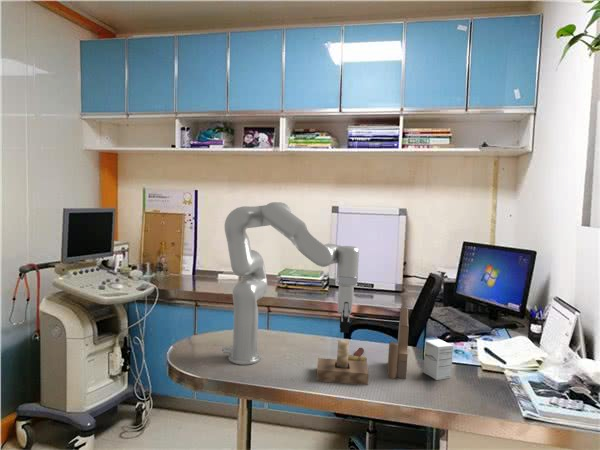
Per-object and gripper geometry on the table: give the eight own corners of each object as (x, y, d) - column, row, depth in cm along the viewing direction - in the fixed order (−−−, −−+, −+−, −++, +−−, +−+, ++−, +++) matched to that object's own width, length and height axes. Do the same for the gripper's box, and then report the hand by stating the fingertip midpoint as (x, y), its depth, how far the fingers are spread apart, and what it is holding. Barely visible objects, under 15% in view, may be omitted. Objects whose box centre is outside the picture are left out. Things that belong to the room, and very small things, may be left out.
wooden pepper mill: (336, 375, 150) (337, 342, 149) (336, 370, 154) (337, 339, 153) (347, 376, 150) (349, 343, 149) (347, 371, 154) (349, 339, 153)
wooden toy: (387, 362, 167) (390, 301, 165) (404, 364, 166) (408, 302, 164) (387, 378, 152) (391, 311, 150) (406, 380, 151) (410, 313, 149)
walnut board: (316, 380, 147) (317, 369, 147) (317, 368, 158) (318, 358, 158) (367, 384, 146) (368, 373, 145) (365, 372, 157) (365, 361, 156)
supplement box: (422, 372, 159) (424, 340, 158) (437, 370, 162) (439, 338, 161) (436, 380, 152) (438, 346, 151) (451, 378, 155) (454, 344, 154)
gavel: (351, 341, 182) (374, 345, 178) (350, 352, 182) (373, 355, 178) (339, 354, 162) (364, 358, 158) (338, 366, 162) (364, 370, 158)
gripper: (336, 275, 158) (333, 322, 159) (336, 284, 141) (334, 337, 143) (356, 276, 158) (353, 324, 159) (359, 285, 141) (356, 338, 142)
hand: (344, 329), depth 151 cm, fingers open, 4 cm apart
